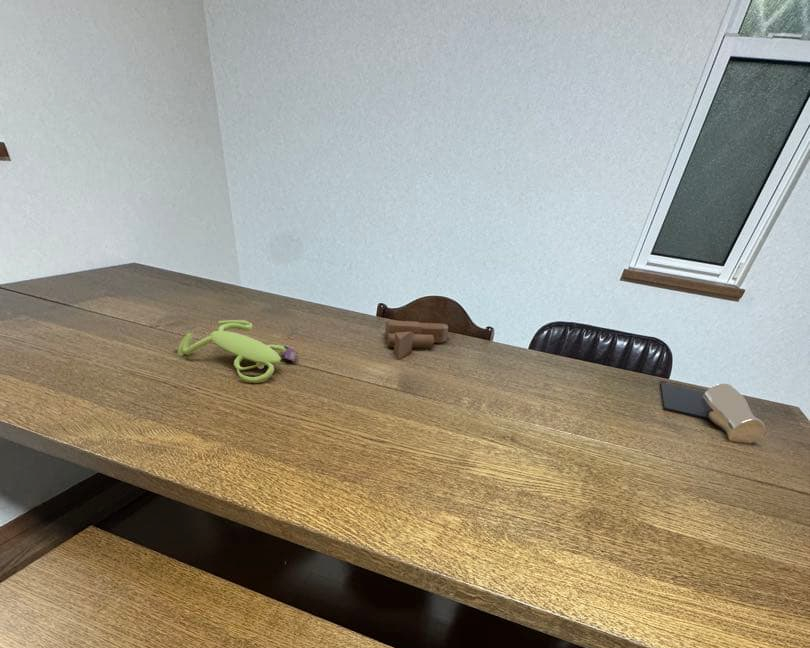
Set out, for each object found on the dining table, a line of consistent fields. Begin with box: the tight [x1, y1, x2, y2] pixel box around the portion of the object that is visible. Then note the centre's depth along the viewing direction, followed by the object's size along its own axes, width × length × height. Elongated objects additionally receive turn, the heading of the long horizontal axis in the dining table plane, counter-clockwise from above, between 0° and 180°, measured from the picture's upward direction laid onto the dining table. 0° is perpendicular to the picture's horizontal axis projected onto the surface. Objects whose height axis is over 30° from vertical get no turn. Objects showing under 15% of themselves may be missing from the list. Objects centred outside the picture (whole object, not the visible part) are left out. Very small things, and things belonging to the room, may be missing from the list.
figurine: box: [177, 319, 298, 384], centre depth 100 cm, size 18×27×6 cm
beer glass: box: [701, 383, 766, 445], centre depth 95 cm, size 7×7×15 cm
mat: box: [659, 382, 712, 422], centre depth 108 cm, size 16×18×1 cm
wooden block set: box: [384, 319, 449, 361], centre depth 118 cm, size 17×6×18 cm
